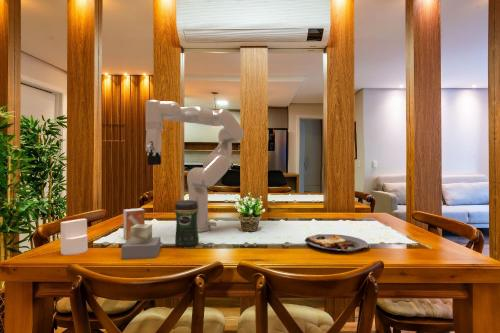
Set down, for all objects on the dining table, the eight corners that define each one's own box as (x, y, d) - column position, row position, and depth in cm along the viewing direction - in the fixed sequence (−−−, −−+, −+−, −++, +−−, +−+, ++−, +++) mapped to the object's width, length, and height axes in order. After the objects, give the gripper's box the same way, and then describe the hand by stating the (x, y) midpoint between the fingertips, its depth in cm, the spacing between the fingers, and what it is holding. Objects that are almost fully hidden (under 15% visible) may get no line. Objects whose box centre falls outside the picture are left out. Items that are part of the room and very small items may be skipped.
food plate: (331, 257, 111) (332, 248, 111) (293, 242, 131) (294, 234, 131) (379, 250, 122) (379, 241, 122) (337, 237, 143) (338, 230, 143)
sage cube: (152, 239, 119) (151, 224, 119) (146, 243, 113) (146, 227, 113) (136, 239, 119) (136, 224, 119) (130, 243, 113) (130, 227, 113)
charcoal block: (160, 249, 123) (160, 237, 123) (156, 258, 111) (156, 245, 111) (129, 250, 121) (129, 238, 121) (121, 260, 109) (121, 246, 109)
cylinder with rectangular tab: (68, 256, 113) (68, 224, 113) (56, 252, 118) (55, 221, 117) (92, 250, 121) (91, 220, 120) (79, 246, 125) (79, 217, 125)
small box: (126, 240, 135) (125, 211, 134) (123, 237, 140) (123, 209, 140) (145, 238, 139) (144, 209, 139) (141, 235, 144) (141, 207, 144)
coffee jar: (199, 241, 133) (199, 199, 133) (196, 246, 125) (196, 201, 125) (177, 241, 133) (177, 199, 133) (173, 246, 125) (172, 201, 125)
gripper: (151, 129, 149) (152, 164, 150) (139, 125, 132) (140, 165, 132) (167, 129, 149) (167, 164, 150) (157, 125, 132) (157, 165, 132)
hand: (154, 164), depth 141 cm, fingers open, 9 cm apart
